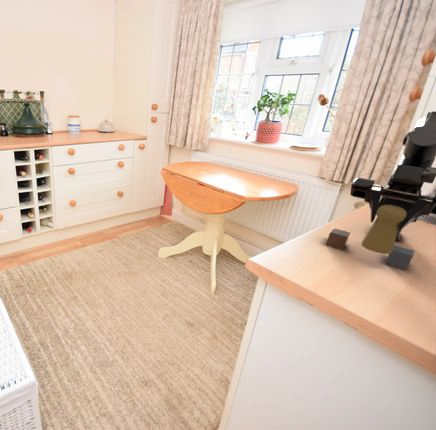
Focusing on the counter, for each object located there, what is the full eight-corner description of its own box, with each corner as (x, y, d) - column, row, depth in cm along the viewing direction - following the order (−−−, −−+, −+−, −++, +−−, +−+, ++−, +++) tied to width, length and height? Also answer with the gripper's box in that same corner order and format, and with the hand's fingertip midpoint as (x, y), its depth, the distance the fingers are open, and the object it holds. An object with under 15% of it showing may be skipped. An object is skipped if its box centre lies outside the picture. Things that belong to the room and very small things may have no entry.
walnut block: (329, 240, 85) (333, 227, 84) (345, 245, 83) (350, 232, 81) (325, 244, 83) (330, 231, 81) (342, 249, 80) (347, 236, 79)
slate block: (386, 257, 77) (393, 244, 75) (407, 264, 74) (414, 250, 73) (385, 263, 74) (391, 249, 73) (406, 269, 72) (413, 255, 70)
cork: (381, 242, 75) (398, 202, 70) (398, 254, 69) (418, 212, 65) (355, 240, 76) (371, 201, 71) (371, 252, 70) (389, 210, 66)
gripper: (366, 145, 72) (339, 197, 70) (481, 159, 59) (453, 223, 57) (362, 171, 80) (338, 218, 78) (463, 188, 67) (437, 245, 65)
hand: (385, 225), depth 69 cm, fingers closed on cork, 5 cm apart
